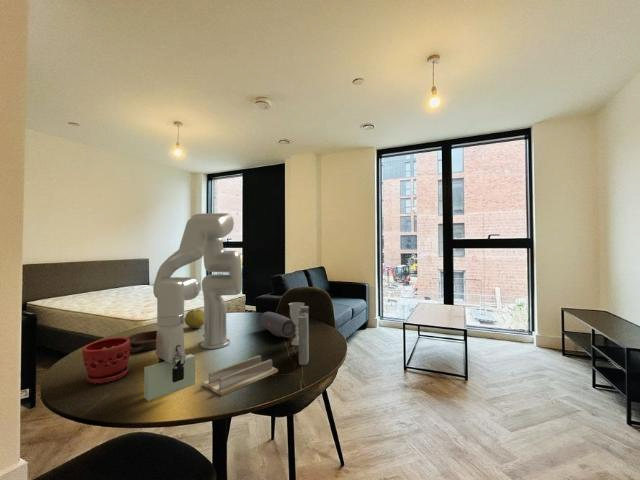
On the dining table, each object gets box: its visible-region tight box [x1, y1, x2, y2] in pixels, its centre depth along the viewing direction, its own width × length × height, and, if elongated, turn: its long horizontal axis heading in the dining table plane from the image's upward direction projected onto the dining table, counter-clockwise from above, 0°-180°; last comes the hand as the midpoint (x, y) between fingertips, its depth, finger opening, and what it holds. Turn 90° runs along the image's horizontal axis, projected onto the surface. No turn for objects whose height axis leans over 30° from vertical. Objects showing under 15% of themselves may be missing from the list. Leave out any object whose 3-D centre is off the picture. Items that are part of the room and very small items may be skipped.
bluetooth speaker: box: [259, 311, 296, 338], centre depth 151 cm, size 23×9×10 cm, turn 36°
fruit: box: [184, 308, 204, 329], centre depth 164 cm, size 11×12×10 cm
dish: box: [126, 329, 157, 353], centre depth 135 cm, size 18×22×5 cm
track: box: [202, 355, 279, 397], centre depth 101 cm, size 11×22×4 cm, turn 140°
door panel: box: [143, 353, 196, 402], centre depth 93 cm, size 3×14×9 cm, turn 139°
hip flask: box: [298, 305, 310, 366], centre depth 119 cm, size 16×4×20 cm, turn 3°
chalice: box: [288, 301, 305, 346], centre depth 136 cm, size 7×7×18 cm
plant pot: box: [82, 337, 131, 384], centre depth 102 cm, size 13×13×12 cm
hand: (170, 376), depth 93 cm, fingers open, 9 cm apart
